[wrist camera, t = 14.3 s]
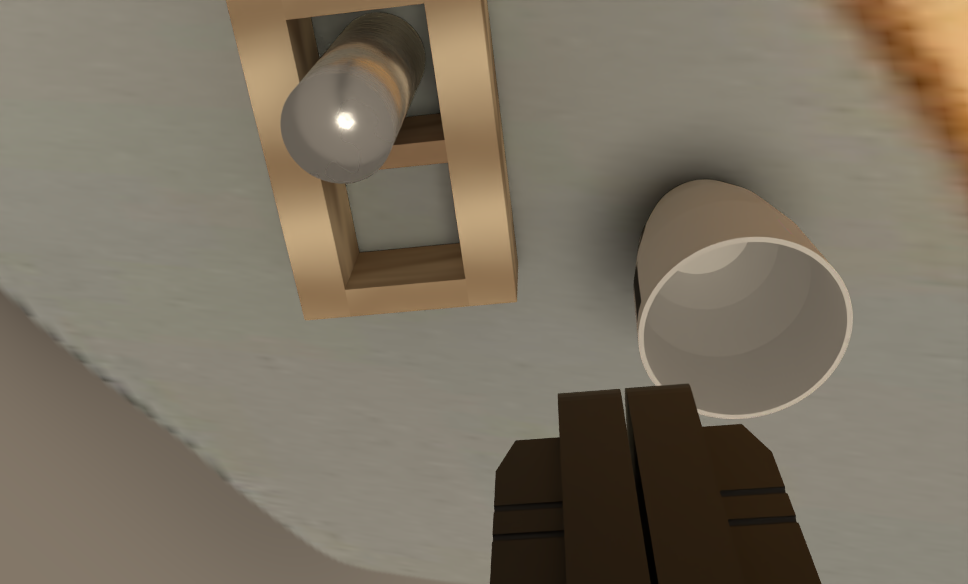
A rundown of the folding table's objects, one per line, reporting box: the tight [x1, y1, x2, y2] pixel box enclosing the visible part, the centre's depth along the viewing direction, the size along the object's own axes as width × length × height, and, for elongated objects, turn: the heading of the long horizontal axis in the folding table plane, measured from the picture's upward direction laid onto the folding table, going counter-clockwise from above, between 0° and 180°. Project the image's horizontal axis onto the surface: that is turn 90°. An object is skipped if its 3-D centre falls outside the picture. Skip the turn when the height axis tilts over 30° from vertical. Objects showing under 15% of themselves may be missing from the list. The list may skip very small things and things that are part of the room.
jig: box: [226, 0, 518, 320], centre depth 40 cm, size 15×10×4 cm, turn 7°
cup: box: [634, 179, 853, 419], centre depth 39 cm, size 8×8×10 cm
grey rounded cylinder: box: [280, 12, 426, 184], centre depth 36 cm, size 4×4×10 cm
